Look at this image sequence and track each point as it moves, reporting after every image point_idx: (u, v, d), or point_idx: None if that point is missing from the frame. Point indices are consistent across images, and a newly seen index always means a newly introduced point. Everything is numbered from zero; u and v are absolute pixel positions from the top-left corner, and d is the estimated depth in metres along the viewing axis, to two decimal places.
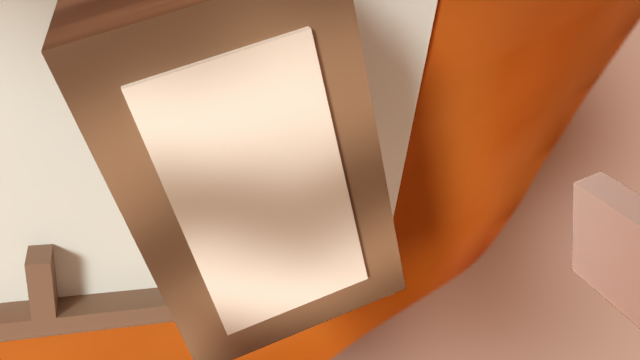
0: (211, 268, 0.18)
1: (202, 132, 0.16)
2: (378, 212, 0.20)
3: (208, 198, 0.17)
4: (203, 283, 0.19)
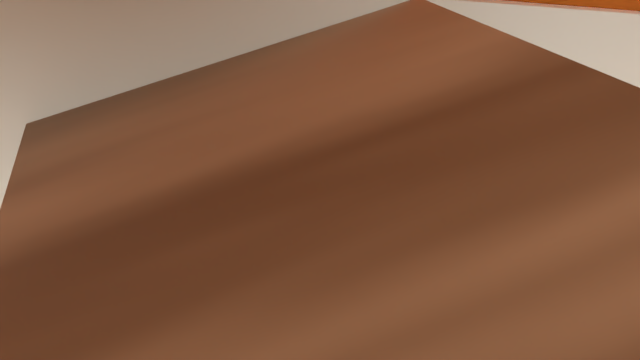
0: None
1: None
2: None
3: None
4: None
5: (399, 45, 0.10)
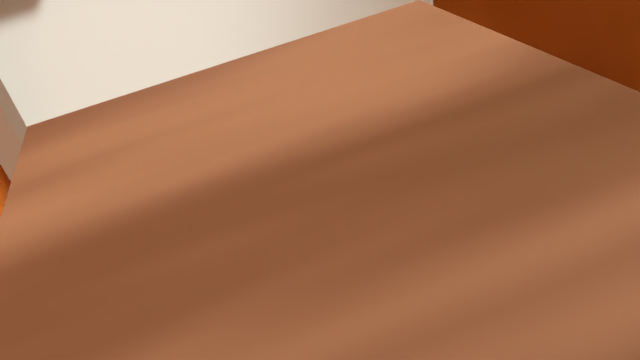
0: None
1: None
2: None
3: None
4: None
5: (400, 47, 0.10)
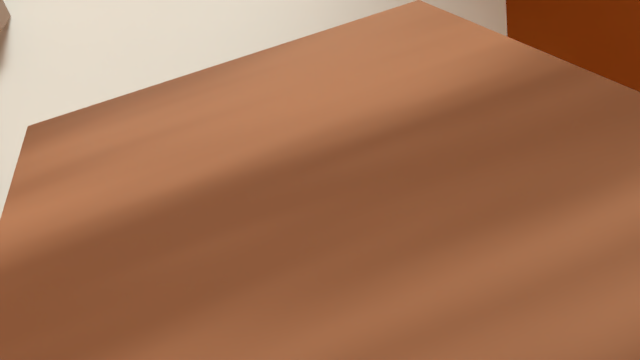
0: None
1: None
2: None
3: None
4: None
5: (399, 47, 0.10)
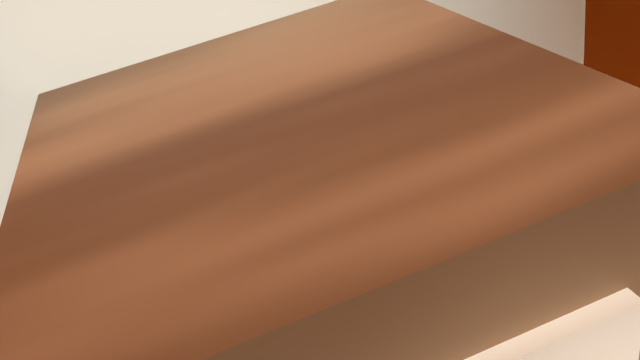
0: None
1: None
2: None
3: None
4: None
5: (364, 23, 0.11)
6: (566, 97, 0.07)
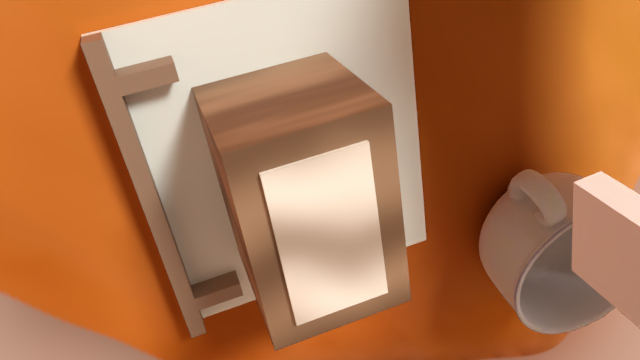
0: (293, 281, 0.29)
1: (300, 199, 0.27)
2: (398, 249, 0.30)
3: (298, 238, 0.28)
4: (286, 291, 0.29)
5: (314, 68, 0.32)
6: (361, 95, 0.28)
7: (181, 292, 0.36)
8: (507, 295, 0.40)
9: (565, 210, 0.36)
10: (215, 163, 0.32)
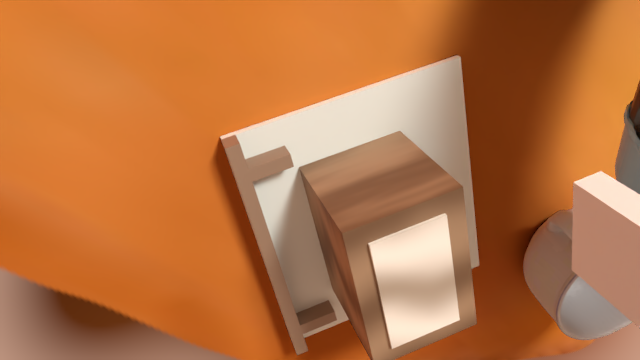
0: (390, 317, 0.38)
1: (397, 259, 0.36)
2: (466, 287, 0.39)
3: (394, 286, 0.37)
4: (384, 324, 0.38)
5: (394, 148, 0.41)
6: (437, 177, 0.37)
7: (290, 321, 0.46)
8: (550, 310, 0.49)
9: None
10: (320, 225, 0.41)
